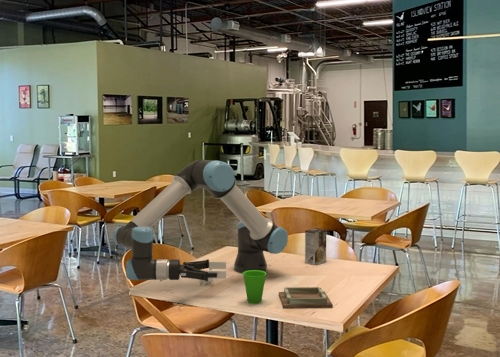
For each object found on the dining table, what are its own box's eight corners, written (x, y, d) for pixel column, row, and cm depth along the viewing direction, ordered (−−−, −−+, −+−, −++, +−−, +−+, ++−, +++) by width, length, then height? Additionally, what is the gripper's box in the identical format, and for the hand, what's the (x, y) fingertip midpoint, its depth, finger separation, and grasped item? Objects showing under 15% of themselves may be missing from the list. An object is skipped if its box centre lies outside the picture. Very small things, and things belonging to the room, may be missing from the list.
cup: (249, 307, 202) (249, 277, 201) (238, 300, 210) (238, 271, 209) (270, 303, 206) (271, 274, 205) (259, 296, 214) (259, 268, 213)
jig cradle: (278, 294, 216) (278, 286, 216) (324, 294, 217) (324, 286, 217) (283, 308, 200) (283, 299, 200) (332, 307, 201) (332, 299, 201)
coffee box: (315, 260, 273) (316, 227, 271) (326, 262, 268) (327, 229, 267) (304, 263, 266) (304, 230, 265) (314, 265, 262) (315, 232, 260)
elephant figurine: (206, 287, 227) (206, 272, 226) (193, 283, 232) (193, 269, 231) (218, 283, 232) (218, 269, 231) (205, 280, 237) (205, 266, 236)
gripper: (171, 271, 217) (225, 271, 219) (165, 289, 193) (226, 289, 194) (171, 252, 217) (226, 252, 218) (165, 268, 192) (226, 268, 193)
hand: (226, 269), depth 206 cm, fingers open, 13 cm apart
